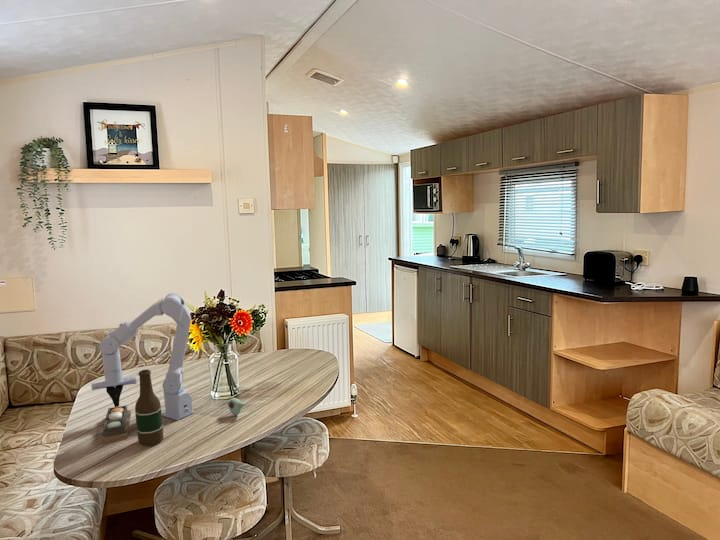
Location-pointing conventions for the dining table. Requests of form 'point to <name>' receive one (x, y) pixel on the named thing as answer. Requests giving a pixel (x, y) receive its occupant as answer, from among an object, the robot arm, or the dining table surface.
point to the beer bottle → (148, 413)
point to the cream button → (115, 416)
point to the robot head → (235, 405)
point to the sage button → (113, 424)
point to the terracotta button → (117, 410)
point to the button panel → (118, 431)
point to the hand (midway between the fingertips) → (117, 405)
